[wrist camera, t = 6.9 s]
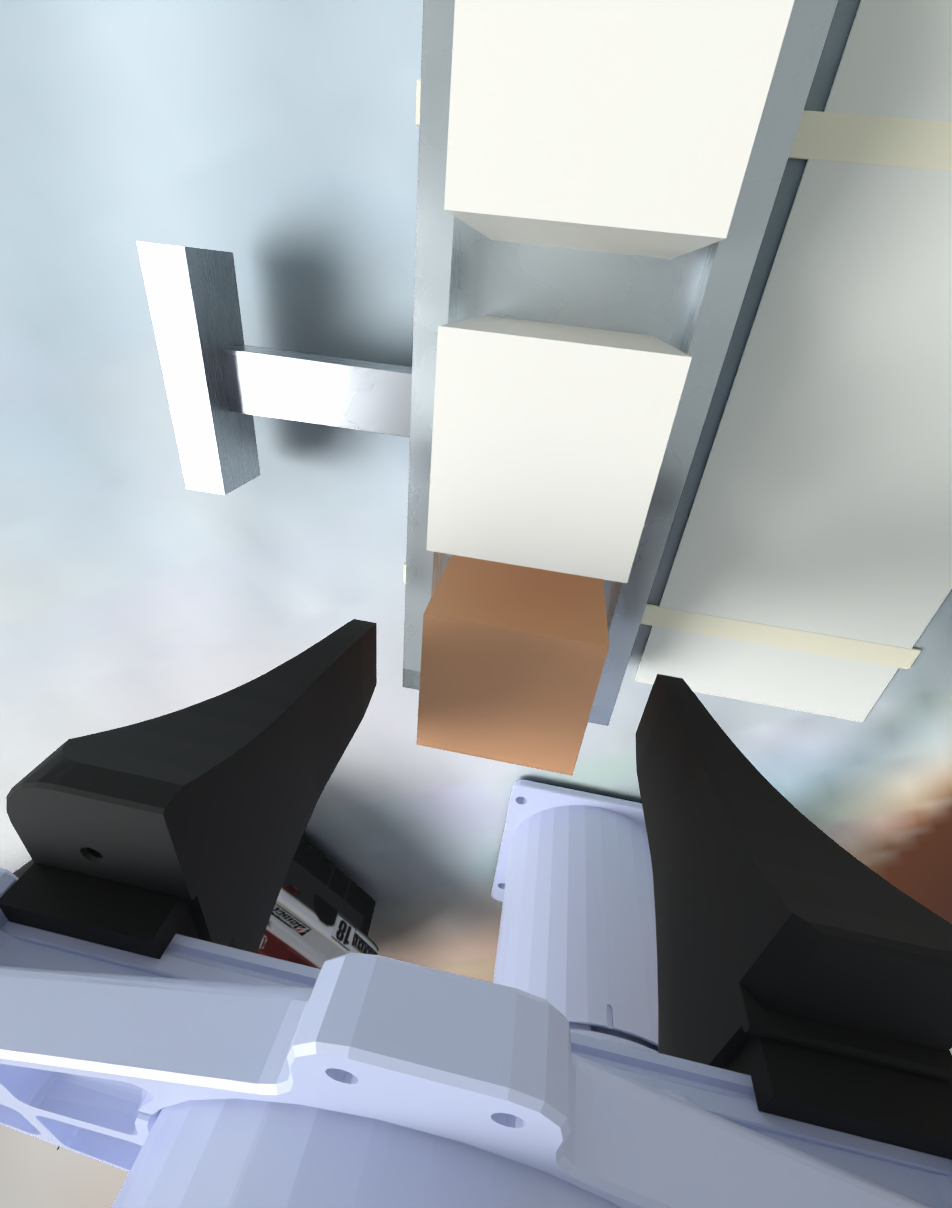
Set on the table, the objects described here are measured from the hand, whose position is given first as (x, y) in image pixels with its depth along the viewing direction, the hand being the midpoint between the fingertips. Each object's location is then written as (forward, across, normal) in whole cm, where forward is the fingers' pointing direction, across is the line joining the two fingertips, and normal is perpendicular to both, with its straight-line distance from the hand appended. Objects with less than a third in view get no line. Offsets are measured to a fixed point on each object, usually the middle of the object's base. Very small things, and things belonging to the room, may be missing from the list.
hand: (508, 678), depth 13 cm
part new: (+4, 0, 0) cm, 4 cm away
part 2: (+4, 0, -6) cm, 7 cm away
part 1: (+4, 0, -11) cm, 12 cm away
